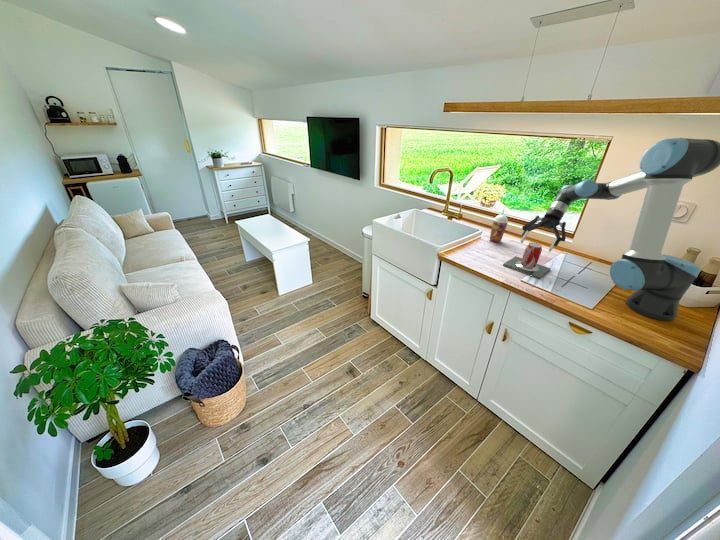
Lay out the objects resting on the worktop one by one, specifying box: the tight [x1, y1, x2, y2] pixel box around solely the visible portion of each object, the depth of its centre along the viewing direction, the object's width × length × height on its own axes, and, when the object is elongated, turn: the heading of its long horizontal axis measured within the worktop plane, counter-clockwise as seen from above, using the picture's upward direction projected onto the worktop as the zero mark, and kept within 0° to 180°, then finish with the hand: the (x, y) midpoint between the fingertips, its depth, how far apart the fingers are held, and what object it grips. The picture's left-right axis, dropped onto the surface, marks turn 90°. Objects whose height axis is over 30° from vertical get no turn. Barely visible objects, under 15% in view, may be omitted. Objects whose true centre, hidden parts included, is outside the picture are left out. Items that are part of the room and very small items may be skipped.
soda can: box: [521, 242, 543, 268], centre depth 142 cm, size 7×7×12 cm
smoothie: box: [489, 209, 509, 243], centre depth 173 cm, size 8×8×20 cm
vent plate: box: [502, 255, 552, 280], centre depth 146 cm, size 18×15×1 cm
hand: (535, 246), depth 143 cm, fingers open, 13 cm apart
